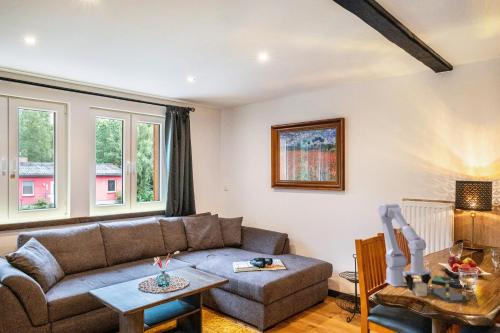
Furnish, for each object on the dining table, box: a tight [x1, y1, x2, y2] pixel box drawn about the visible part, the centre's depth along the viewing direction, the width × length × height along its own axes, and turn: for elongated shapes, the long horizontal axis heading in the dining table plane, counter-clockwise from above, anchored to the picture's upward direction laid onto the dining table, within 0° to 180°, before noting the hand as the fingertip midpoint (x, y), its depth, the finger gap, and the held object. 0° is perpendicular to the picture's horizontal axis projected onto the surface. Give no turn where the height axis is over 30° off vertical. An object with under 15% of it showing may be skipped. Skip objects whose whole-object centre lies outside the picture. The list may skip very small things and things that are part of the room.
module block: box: [407, 278, 428, 297], centre depth 173 cm, size 8×5×6 cm, turn 7°
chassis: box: [427, 283, 472, 303], centre depth 170 cm, size 16×12×4 cm
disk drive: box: [430, 275, 462, 290], centre depth 186 cm, size 10×3×15 cm
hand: (417, 289), depth 173 cm, fingers open, 7 cm apart
